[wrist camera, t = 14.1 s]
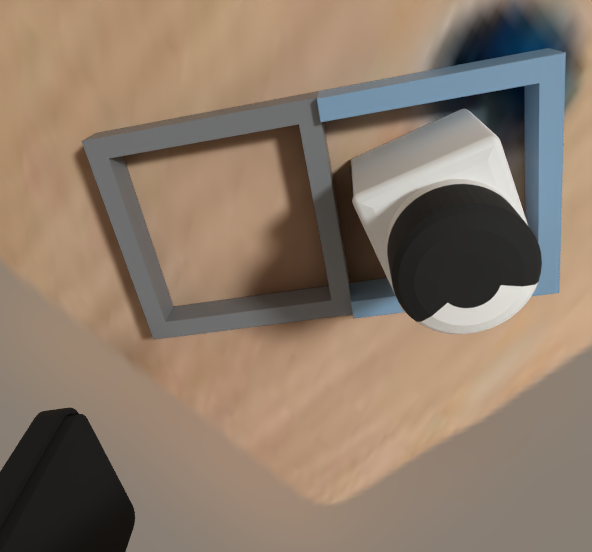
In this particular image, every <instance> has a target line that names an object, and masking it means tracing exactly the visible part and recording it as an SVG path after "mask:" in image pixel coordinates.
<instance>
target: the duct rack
mask: <svg viewBox="0 0 592 552" xmlns="http://www.w3.org/2000/svg"><path fill="white" fill-rule="evenodd" d="M565 57H566V53H565V52H561V51H557V50H553V49H549V48H546V49H541V50H536V51H530V52H525V53H520V54H514V55H509V56H504V57H499V58H493V59H488V60H483V61H477V62H472V63H467V64H461V65H456V66H451V67H445V68H440V69H435V70H429V71H424V72H419V73H413V74H408V75H403V76H397V77H392V78H387V79H381V80H376V81H371V82H365V83H360V84H355V85H350V86H344V87H339V88H334V89H328V90H323V91H318V92H312V93H307V94H302V95H296V96H291V97H286V98H280V99H275V100H270V101H264V102H259V103H254V104H248V105H243V106H238V107H232V108H227V109H222V110H216V111H211V112H206V113H201V114H195V115H190V116H185V117H179V118H174V119H169V120H163V121H158V122H153V123H147V124H142V125H137V126H131V127H126V128H121V129H115V130H110V131H105V132H99V133H95V134H93V135H92V136H90V137H88V138H86V139H85V140H83V141H82V144H83V147H84V150H85V152H86V155H87V158H88V161H89V163H90V166H91V169H92V172H93V174H94V177H95V180H96V183H97V185H98V188H99V191H100V194H101V196H102V199H103V202H104V205H105V207H106V210H107V213H108V216H109V218H110V221H111V224H112V227H113V229H114V232H115V235H116V238H117V240H118V243H119V246H120V249H121V251H122V254H123V257H124V260H125V262H126V265H127V268H128V271H129V273H130V276H131V279H132V282H133V284H134V287H135V290H136V293H137V295H138V298H139V301H140V304H141V306H142V309H143V312H144V315H145V317H146V320H147V323H148V326H149V328H150V331H151V334H152V337H153V339H161V338H169V337H177V336H185V335H193V334H201V333H209V332H217V331H225V330H233V329H241V328H249V327H257V326H265V325H273V324H280V323H288V322H296V321H304V320H312V319H320V318H328V317H336V316H344V315H352V314H353V318H362V317H370V316H378V315H386V314H394V313H402V312H404V311H403V310H402V309H401V307H400V304H399V302H398V300H397V298H396V296H395V294H394V291H393V289H392V287H391V285H390V283H389V281H388V279H387V278H383V279H375V280H368V281H360V282H353V283H350V279H349V273H348V267H347V261H346V255H345V249H344V243H343V237H342V231H341V225H340V219H339V213H338V207H337V200H336V194H335V188H334V182H333V176H332V170H331V164H330V158H329V152H328V146H327V140H326V134H325V128H324V122H325V121H331V120H336V119H342V118H347V117H353V116H359V115H364V114H370V113H375V112H381V111H386V110H392V109H398V108H403V107H409V106H414V105H420V104H425V103H431V102H437V101H442V100H448V99H453V98H459V97H464V96H470V95H476V94H481V93H487V92H492V91H498V90H504V89H509V88H515V87H520V86H524V96H525V217H526V220H527V224H528V226H529V228H530V229H531V230H532V232H533V233H534V235H535V237H536V239H537V241H538V244H539V246H540V251H541V257H542V267H541V274H540V278H539V282H538V284H537V286H536V289H535V291H534V293H533V294H532V296H538V295H546V294H554V293H559V285H560V247H561V209H562V171H563V133H564V95H565ZM298 124H299V127H300V133H301V138H302V143H303V149H304V154H305V160H306V165H307V170H308V176H309V181H310V187H311V192H312V197H313V203H314V208H315V214H316V219H317V224H318V230H319V235H320V241H321V246H322V251H323V257H324V262H325V268H326V273H327V278H328V284H329V286H323V287H316V288H308V289H301V290H294V291H286V292H279V293H271V294H264V295H256V296H249V297H241V298H234V299H227V300H219V301H212V302H204V303H197V304H189V305H182V306H174V307H173V304H172V301H171V298H170V295H169V292H168V289H167V286H166V283H165V280H164V277H163V274H162V271H161V268H160V265H159V262H158V259H157V256H156V253H155V250H154V247H153V244H152V241H151V238H150V235H149V232H148V229H147V226H146V223H145V220H144V217H143V214H142V211H141V208H140V205H139V202H138V199H137V196H136V193H135V190H134V187H133V184H132V181H131V178H130V175H129V172H128V169H127V166H126V163H125V160H124V157H123V156H126V155H131V154H137V153H142V152H148V151H153V150H159V149H164V148H170V147H176V146H181V145H187V144H192V143H198V142H203V141H209V140H214V139H220V138H226V137H231V136H237V135H242V134H248V133H253V132H259V131H265V130H270V129H276V128H281V127H287V126H292V125H298Z"/></svg>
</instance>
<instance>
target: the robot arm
mask: <svg viewBox="0 0 592 552" xmlns="http://www.w3.org/2000/svg"><path fill="white" fill-rule="evenodd" d="M134 522H135V512H134V508H133V505H132V503H131V502H130V500H129V498H128V496H127V494H126V492H125V490H124V488H123V486H122V484H121V482H120V480H119V479H118V477H117V475H116V473H115V471H114V469H113V467H112V465H111V463H110V461H109V460H108V457H107V456H106V454H105V452H104V450H103V448H102V446H101V444H100V442H99V440H98V438H97V436H96V434H95V433H94V431H93V429H92V427H91V425H90V423H89V421H88V419H87V418H86V416H84V415H83V414H79V413H78V412H77V411H76V410H75V409H73V408H63V409H57V410H49V411H43V412H40V413H39V414H38V415H37V416H36V417H35V418H34V420H33V422H32V423H31V425H30V426H29V428H28V430H27V431H26V433H25V434H24V436H23V437H22V439H21V440H20V442H19V443H18V445H17V447H16V448H15V450H14V451H13V453H12V454H11V456H10V458H9V459H8V461H7V462H6V464H5V465H4V467H3V469H2V470H1V472H0V552H125V551H126V548H127V545H128V542H129V539H130V536H131V533H132V530H133V527H134Z"/></svg>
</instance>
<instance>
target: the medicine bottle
mask: <svg viewBox="0 0 592 552" xmlns="http://www.w3.org/2000/svg"><path fill="white" fill-rule="evenodd" d="M350 174H351V190H352V203H353V205H354V208H355V210H356V212H357V214H358V216H359V218H360V220H361V223H362V225H363V227H364V229H365V231H366V233H367V236H368V238H369V240H370V242H371V244H372V246H373V248H374V251H375V253H376V255H377V257H378V259H379V261H380V264H381V266H382V268H383V270H384V272H385V274H386V276H387V279H388V281H389V283H390V285H391V287H392V289H393V291H394V294H395V296H396V298H397V300H398V302H399V304H400V307H401V309H402V310H403V311H404V312H405V313H407V314H408V315H409V316H410V317H411V318H412V319H414V320H415V321H416V322H418V323H420V324H421V325H423V326H425V327H427V328H429V329H432V330H435V331H438V332H442V333H448V334H471V333H476V332H481V331H484V330H487V329H490V328H493V327H495V326H497V325H500V324H501V323H503V322H505V321H506V320H508V319H509V318H511V317H512V316H513V315H515V314H516V313H517V312H518V311H519V310H520V309H521V308H522V307H523V306H524V305H525V304H526V303H527V302H528V300H529V299H530V297H531V296H532V294H533V293H534V291H535V289H536V286H537V284H538V282H539V278H540V274H541V267H542V257H541V251H540V246H539V244H538V241H537V239H536V237H535V235H534V233H533V232H532V230H531V229H530V228H529V226H528V224H527V220H526V217H525V214H524V211H523V208H522V205H521V202H520V199H519V196H518V193H517V190H516V187H515V184H514V181H513V178H512V175H511V172H510V169H509V166H508V163H507V160H506V157H505V153H504V150H503V147H502V144H501V141H500V139H499V138H498V137H497V136H496V135H495V134H494V133H493V132H492V131H491V130H490V129H489V128H488V127H486V126H485V125H484V124H483V123H482V122H481V121H480V120H479V119H478V118H476V117H475V116H474V115H473V114H472V113H471V112H470V111H469V110H467V109H460V110H458V111H456V112H454V113H452V114H449V115H447V116H445V117H443V118H441V119H438V120H436V121H434V122H432V123H430V124H427V125H425V126H423V127H421V128H419V129H416V130H414V131H412V132H410V133H408V134H405V135H403V136H401V137H399V138H397V139H394V140H392V141H390V142H388V143H386V144H383V145H381V146H379V147H377V148H375V149H372V150H370V151H368V152H366V153H364V154H361V155H359V156H357V157H355V158H353V159H352V160H351V162H350Z"/></svg>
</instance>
